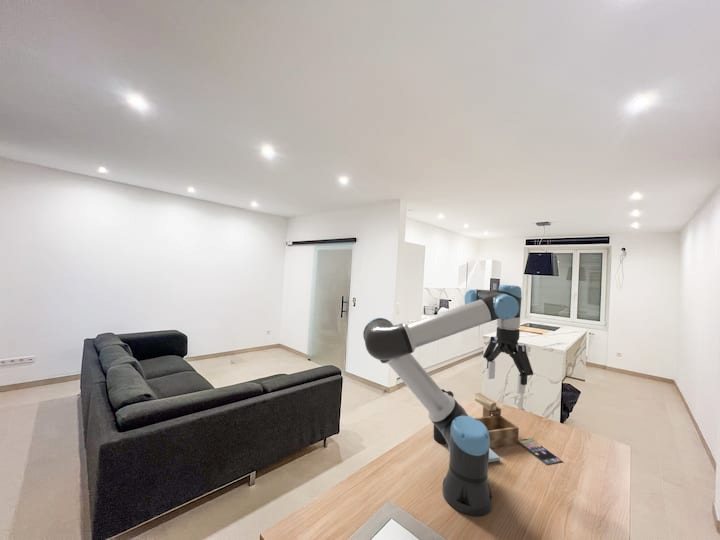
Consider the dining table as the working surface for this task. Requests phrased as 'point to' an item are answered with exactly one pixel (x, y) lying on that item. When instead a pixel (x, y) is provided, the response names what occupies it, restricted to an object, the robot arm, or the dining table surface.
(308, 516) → the dining table surface
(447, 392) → the travel mug
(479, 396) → the beige rectangular block
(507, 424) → the open wooden box
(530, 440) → the smartphone
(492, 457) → the lid
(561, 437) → the dining table surface
